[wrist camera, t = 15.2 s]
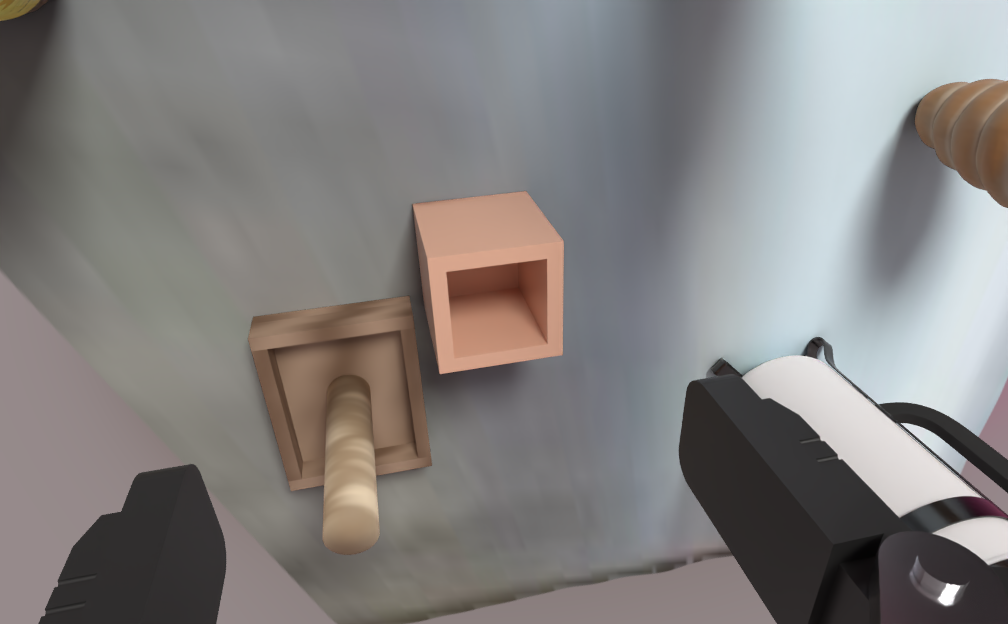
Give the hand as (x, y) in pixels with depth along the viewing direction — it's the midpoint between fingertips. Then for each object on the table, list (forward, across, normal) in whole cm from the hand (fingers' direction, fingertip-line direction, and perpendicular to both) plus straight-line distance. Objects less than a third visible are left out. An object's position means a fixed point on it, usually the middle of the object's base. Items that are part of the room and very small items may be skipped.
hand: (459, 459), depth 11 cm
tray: (+34, +5, +22) cm, 41 cm away
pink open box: (+34, -6, +12) cm, 37 cm away
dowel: (+33, +5, +22) cm, 40 cm away
